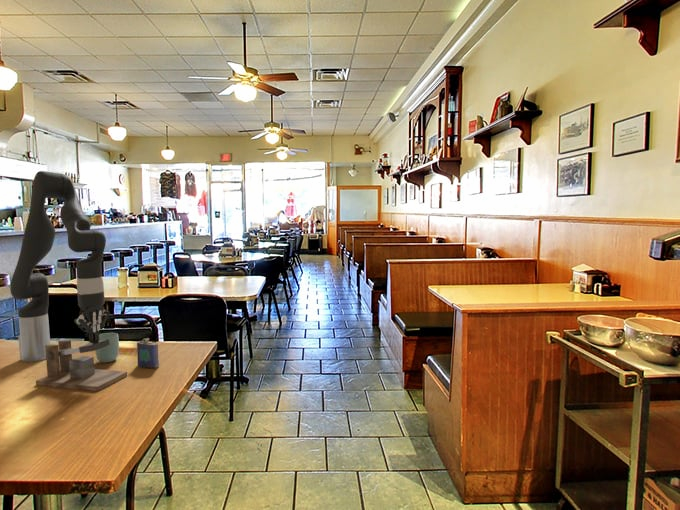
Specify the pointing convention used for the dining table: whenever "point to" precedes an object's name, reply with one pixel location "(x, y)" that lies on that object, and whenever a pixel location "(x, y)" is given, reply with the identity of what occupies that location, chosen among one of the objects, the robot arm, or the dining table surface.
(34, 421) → the dining table surface
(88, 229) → the robot arm
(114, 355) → the cup
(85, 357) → the frame
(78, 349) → the lever
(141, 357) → the flask
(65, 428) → the dining table surface
